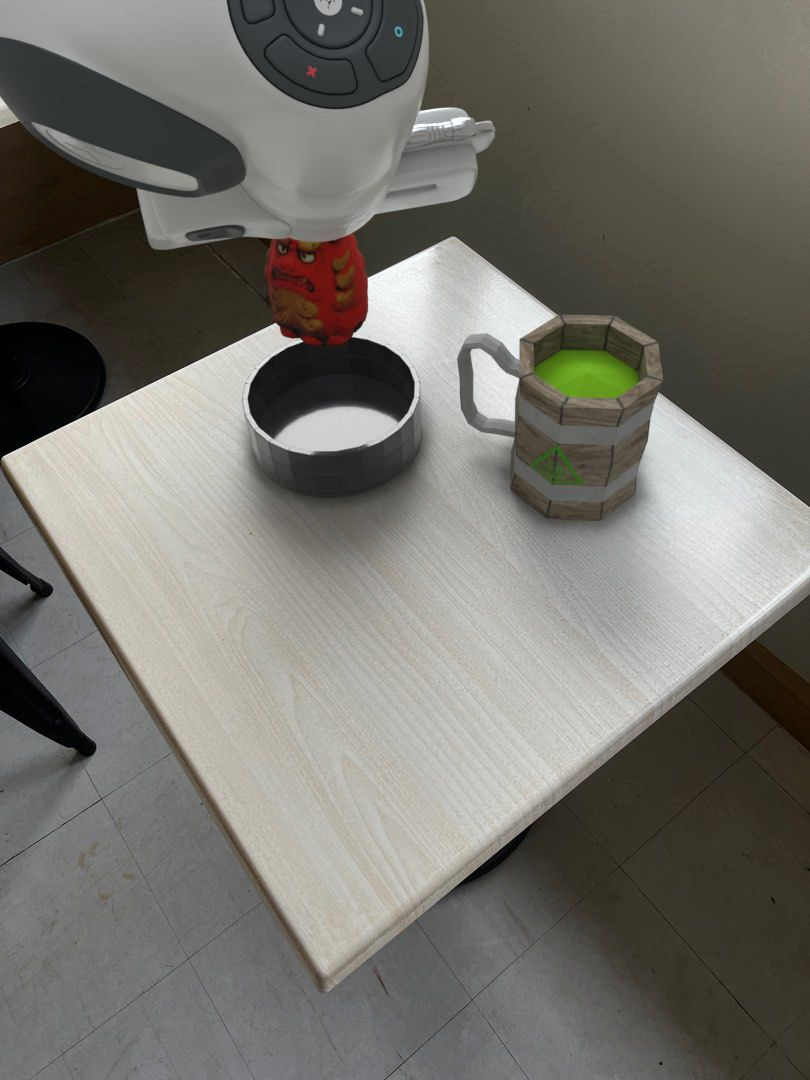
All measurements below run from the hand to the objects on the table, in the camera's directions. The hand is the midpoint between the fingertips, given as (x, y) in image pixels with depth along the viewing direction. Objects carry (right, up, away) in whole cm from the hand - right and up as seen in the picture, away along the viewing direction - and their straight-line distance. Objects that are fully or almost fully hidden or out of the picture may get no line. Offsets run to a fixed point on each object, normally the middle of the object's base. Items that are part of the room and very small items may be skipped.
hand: (306, 216), depth 60 cm
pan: (+1, -13, +17) cm, 21 cm away
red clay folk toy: (+1, -6, +6) cm, 9 cm away
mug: (+18, -16, +14) cm, 28 cm away
